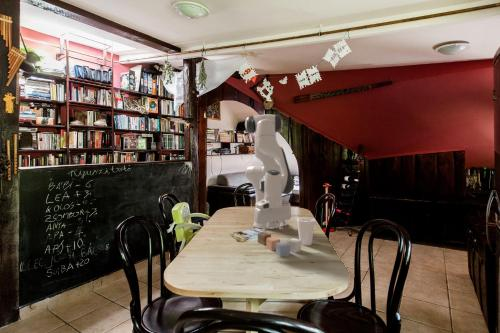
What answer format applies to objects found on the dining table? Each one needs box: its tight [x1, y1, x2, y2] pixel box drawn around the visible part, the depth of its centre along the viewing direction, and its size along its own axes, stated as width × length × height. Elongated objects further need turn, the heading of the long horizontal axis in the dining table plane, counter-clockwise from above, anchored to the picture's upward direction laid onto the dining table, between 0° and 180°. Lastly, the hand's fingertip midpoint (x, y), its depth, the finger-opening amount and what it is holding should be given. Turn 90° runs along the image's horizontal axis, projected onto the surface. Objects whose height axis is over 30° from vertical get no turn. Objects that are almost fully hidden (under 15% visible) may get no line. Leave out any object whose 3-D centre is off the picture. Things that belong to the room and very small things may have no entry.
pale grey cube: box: [286, 237, 302, 254], centre depth 145 cm, size 5×5×5 cm
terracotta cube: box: [265, 236, 281, 251], centre depth 148 cm, size 5×5×5 cm
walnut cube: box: [257, 231, 272, 246], centre depth 156 cm, size 5×5×5 cm
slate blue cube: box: [275, 241, 291, 258], centre depth 140 cm, size 5×5×5 cm
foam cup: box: [296, 216, 316, 246], centre depth 154 cm, size 10×9×13 cm
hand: (272, 229), depth 147 cm, fingers open, 8 cm apart
